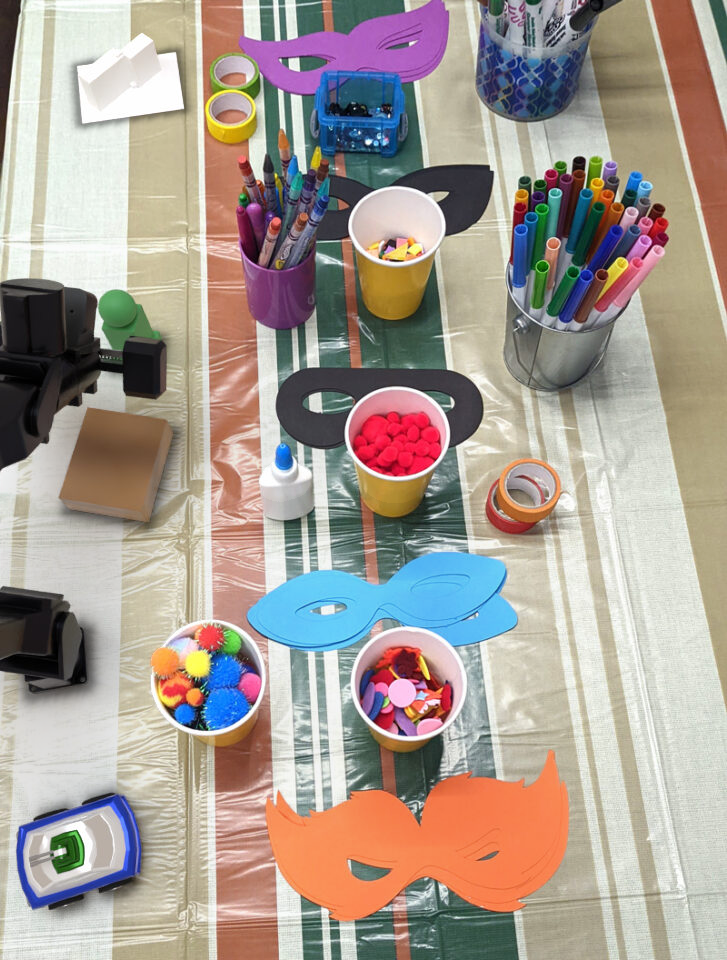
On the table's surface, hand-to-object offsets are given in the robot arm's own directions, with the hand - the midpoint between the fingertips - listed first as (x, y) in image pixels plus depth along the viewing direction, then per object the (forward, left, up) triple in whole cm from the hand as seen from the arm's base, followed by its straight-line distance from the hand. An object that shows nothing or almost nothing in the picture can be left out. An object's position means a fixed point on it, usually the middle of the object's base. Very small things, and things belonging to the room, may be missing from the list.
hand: (107, 340), depth 103 cm
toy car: (-54, +9, -11) cm, 56 cm away
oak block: (-12, +2, -11) cm, 16 cm away
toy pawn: (+4, -1, -11) cm, 12 cm away
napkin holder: (+49, -4, -11) cm, 51 cm away
